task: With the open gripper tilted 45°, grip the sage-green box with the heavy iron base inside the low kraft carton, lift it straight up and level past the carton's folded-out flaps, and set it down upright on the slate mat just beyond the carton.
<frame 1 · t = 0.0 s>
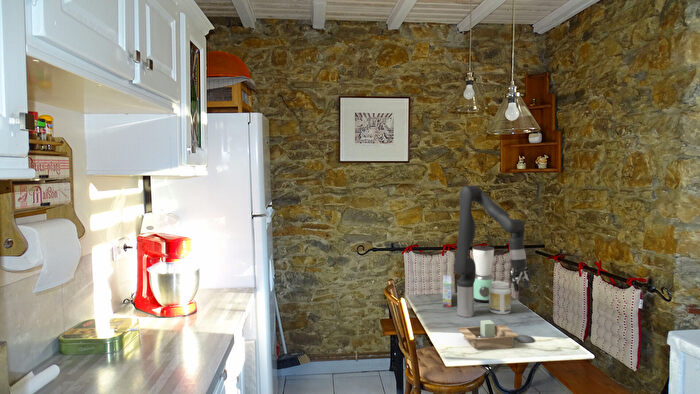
hand: (521, 289, 222), 22 cm above the table, tool pointing down, fingers open, 8 cm apart
slate mat: (524, 339, 214), on the table
snack box: (447, 302, 277), on the table
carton: (487, 341, 212), on the table
mint green blender: (483, 300, 280), on the table
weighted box: (487, 342, 212), resting in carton
supplement tub: (499, 311, 257), on the table
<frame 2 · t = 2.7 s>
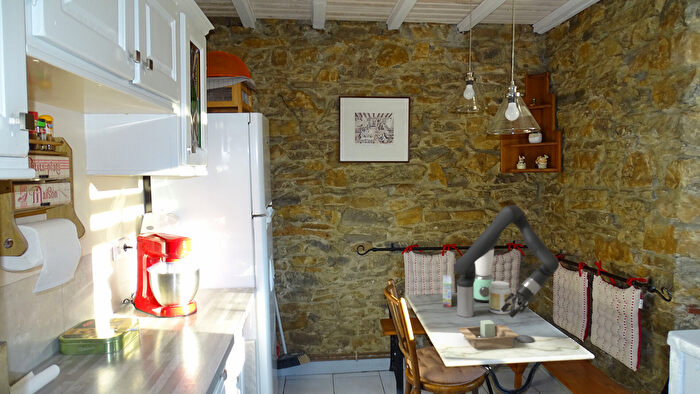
hand: (506, 313, 213), 14 cm above the table, tool tilted 45°, fingers open, 8 cm apart
nothing on the table moved.
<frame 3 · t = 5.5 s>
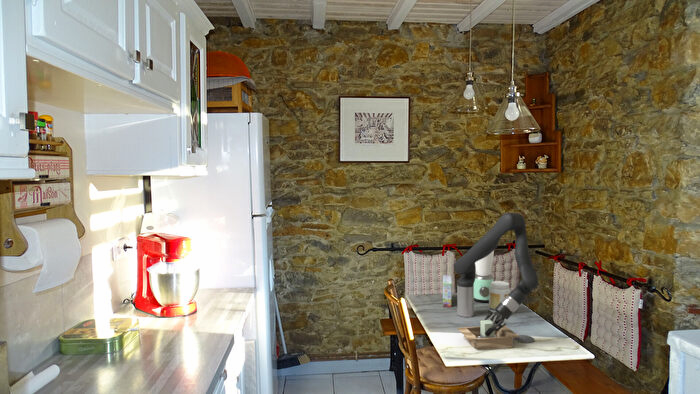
hand: (483, 332, 212), 5 cm above the table, tool tilted 45°, fingers closed on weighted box, 5 cm apart
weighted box: (487, 341, 212), resting in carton, touching gripper
everything else where it was.
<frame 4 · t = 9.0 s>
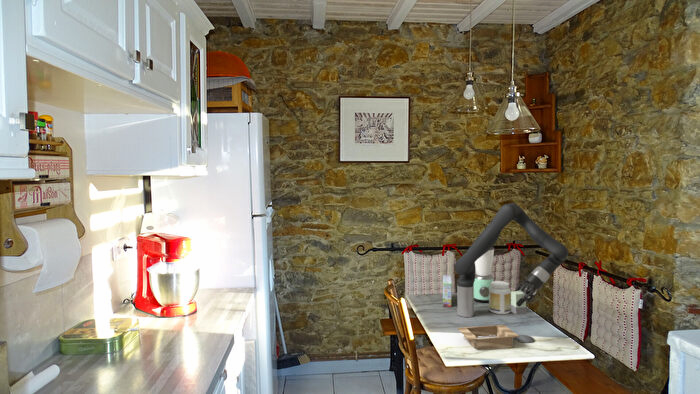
hand: (514, 303, 213), 18 cm above the table, tool tilted 45°, fingers closed on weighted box, 5 cm apart
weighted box: (518, 312, 213), point 14 cm above the table, touching gripper
everything else where it was.
when the fingers open (6 cm above the table, at t = 12.1 s): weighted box stays where it is, resting on slate mat.
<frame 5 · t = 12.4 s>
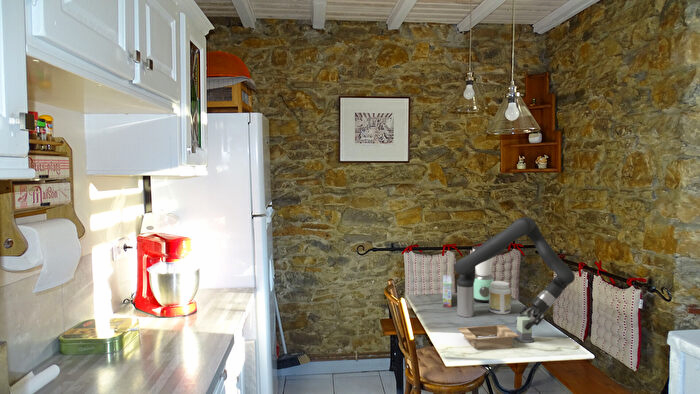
hand: (521, 325, 214), 7 cm above the table, tool tilted 45°, fingers open, 8 cm apart
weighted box: (524, 338, 215), point 1 cm above the table, touching slate mat
everything else where it was.
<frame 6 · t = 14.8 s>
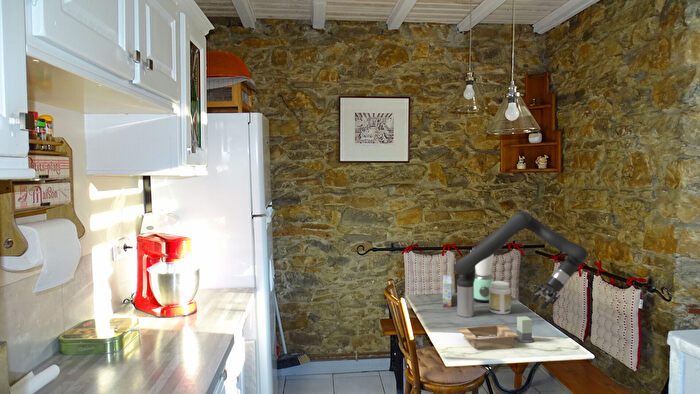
hand: (537, 305, 216), 16 cm above the table, tool tilted 40°, fingers open, 8 cm apart
nothing on the table moved.
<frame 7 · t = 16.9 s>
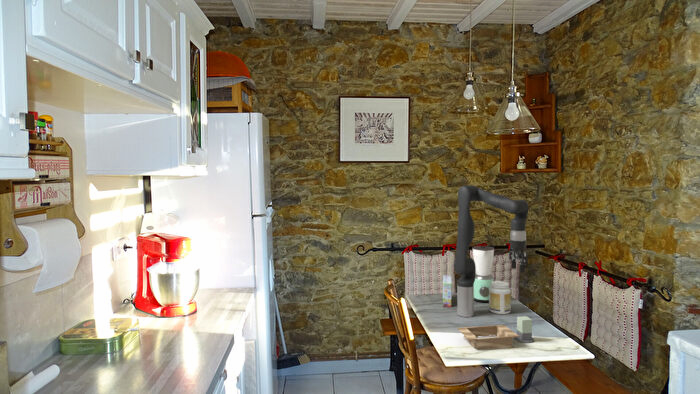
hand: (518, 270, 223), 32 cm above the table, tool pointing down, fingers open, 8 cm apart
nothing on the table moved.
at the end: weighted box 0.1 cm off-centre on the slate mat, point 0.6 cm above the slate mat's base; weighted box tilted 0°; the gripper is holding nothing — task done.
